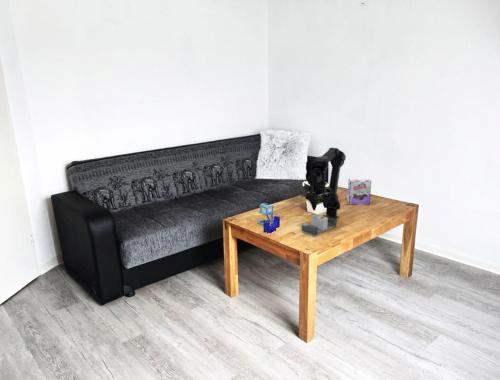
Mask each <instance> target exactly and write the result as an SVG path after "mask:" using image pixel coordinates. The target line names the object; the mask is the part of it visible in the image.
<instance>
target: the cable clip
mask: <svg viewBox="0 0 500 380" xmlns="http://www.w3.org/2000/svg"><path fill="white" fill-rule="evenodd" d="M269 222H270V221H267V222H266V221H265V222H262V223H263V225H262V226H263V227H262V228H263V233H265V232H267V233H266V234H269V233H271V234H273V233H274V232H275V231H277V229H278V228H280V226H281V217H280V216H278V215H273V222H272V223H271V224H270V223H269ZM272 232H273V233H272Z"/></svg>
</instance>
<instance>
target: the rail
mask: <svg viewBox="0 0 500 380" xmlns="http://www.w3.org/2000/svg"><path fill="white" fill-rule="evenodd" d="M321 216H323V217H326V218H328V225H327V229H325V230H321V229H318V227H316V226H313V225H311V224H310V223H308V222H302V223H301V228H300V229H301V233H302V234H306V235H308V236H311V237H316V236H318V235H320V234H323V233H324V232H327V231H329V230H331V229H333V228H335V227H337V223H338V221H337V219H338V218H334V217H330V216H327V215H326V214H322V215H321Z"/></svg>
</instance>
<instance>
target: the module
mask: <svg viewBox="0 0 500 380" xmlns="http://www.w3.org/2000/svg"><path fill="white" fill-rule="evenodd" d="M310 220H311V224H310V225H313V226H316V227H318V229H321V230H325V229H327V225H328V218H326V217H323V216H322V215H320V214H313V215H312V216H311V219H310Z"/></svg>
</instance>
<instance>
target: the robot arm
mask: <svg viewBox="0 0 500 380" xmlns="http://www.w3.org/2000/svg"><path fill="white" fill-rule="evenodd" d="M346 158H347V157H346V154H345V152H344V151H341V150H340V148H337V147H329V148H328V150H327V151H326V152H325V153H324V154H322V155H321V156H317V157H315V158H314V159H313V161H312V164H311V167H310V170H309V172H310V175H308V177H307V179H306V181H307V183H308V184H305V185H304V187H303V189H304V191H305V192H306V193H305V194H304V199H306V200H307V201H309V202H310V204H311V208H312V211H316V209H317V205H318V203H319V196H322V206H323V208H324V209H326V211H325V213H326V214H325V215H327V216H330V217H334V218H337V219H339V218H340V217H339V216H338V210H340V209H341V203H340V201H339V195H338V192H337V191H338V186H339V185H338V184H339V179H340V173H341V172H340V171H341V168H342V166H344V164H345V161H346ZM329 163H330V164H331V172H330V179H329V186H328V183H327V182H326V178H327V177H326V176H327V175H326V174H327V173H326V172H327V170H328V168H329V165H330V164H329Z"/></svg>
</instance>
